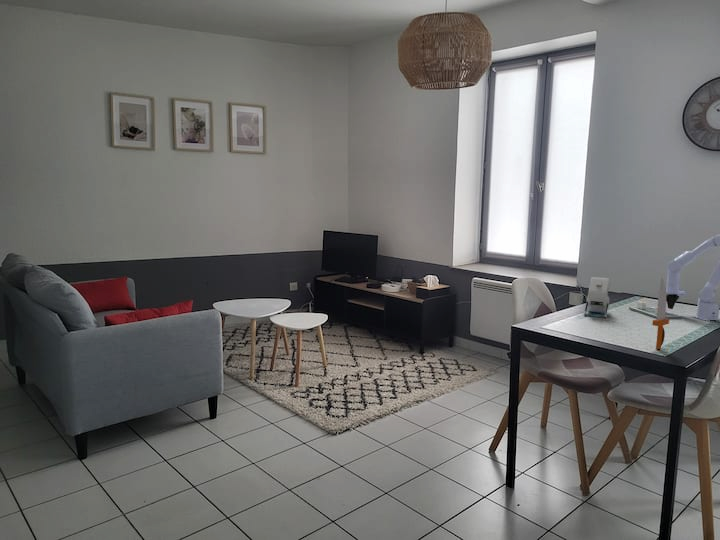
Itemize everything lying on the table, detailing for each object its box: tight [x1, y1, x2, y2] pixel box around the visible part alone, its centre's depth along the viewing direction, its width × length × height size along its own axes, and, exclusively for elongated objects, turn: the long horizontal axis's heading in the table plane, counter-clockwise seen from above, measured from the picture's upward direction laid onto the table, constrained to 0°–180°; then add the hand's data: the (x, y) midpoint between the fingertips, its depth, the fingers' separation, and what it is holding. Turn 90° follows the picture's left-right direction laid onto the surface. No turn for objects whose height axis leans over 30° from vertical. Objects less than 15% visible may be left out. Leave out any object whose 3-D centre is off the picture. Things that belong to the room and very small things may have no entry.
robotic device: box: [583, 276, 610, 319], centre depth 288 cm, size 10×21×20 cm
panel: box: [628, 306, 684, 320], centre depth 292 cm, size 23×14×1 cm, turn 9°
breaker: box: [636, 300, 647, 309], centre depth 298 cm, size 4×2×4 cm
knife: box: [651, 277, 670, 350], centre depth 223 cm, size 8×2×30 cm, turn 126°
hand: (670, 308), depth 293 cm, fingers closed
